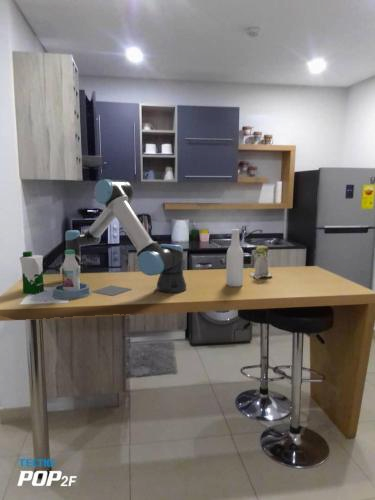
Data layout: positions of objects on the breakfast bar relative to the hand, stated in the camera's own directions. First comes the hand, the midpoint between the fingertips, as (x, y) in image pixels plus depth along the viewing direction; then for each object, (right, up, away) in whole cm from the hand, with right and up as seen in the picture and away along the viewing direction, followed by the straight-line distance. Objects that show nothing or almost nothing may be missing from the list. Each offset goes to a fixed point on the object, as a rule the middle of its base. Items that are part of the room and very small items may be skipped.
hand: (70, 271), depth 167 cm
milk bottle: (-1, -10, +6) cm, 12 cm away
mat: (+17, -11, +13) cm, 24 cm away
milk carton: (-21, -11, +10) cm, 26 cm away
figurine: (+98, -6, +45) cm, 108 cm away
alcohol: (+80, -9, +26) cm, 85 cm away
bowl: (-1, -12, +7) cm, 13 cm away
